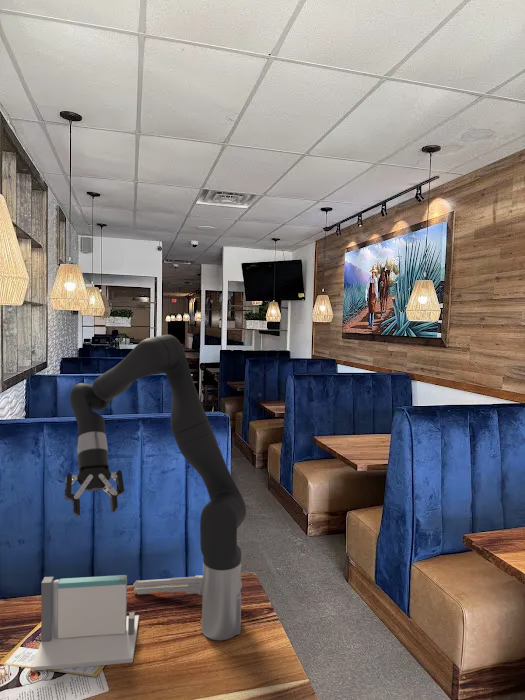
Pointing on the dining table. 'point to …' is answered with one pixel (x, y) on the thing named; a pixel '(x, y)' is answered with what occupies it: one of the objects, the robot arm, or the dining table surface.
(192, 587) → the grey flat strip
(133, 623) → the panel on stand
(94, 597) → the gate panel
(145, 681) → the dining table surface
